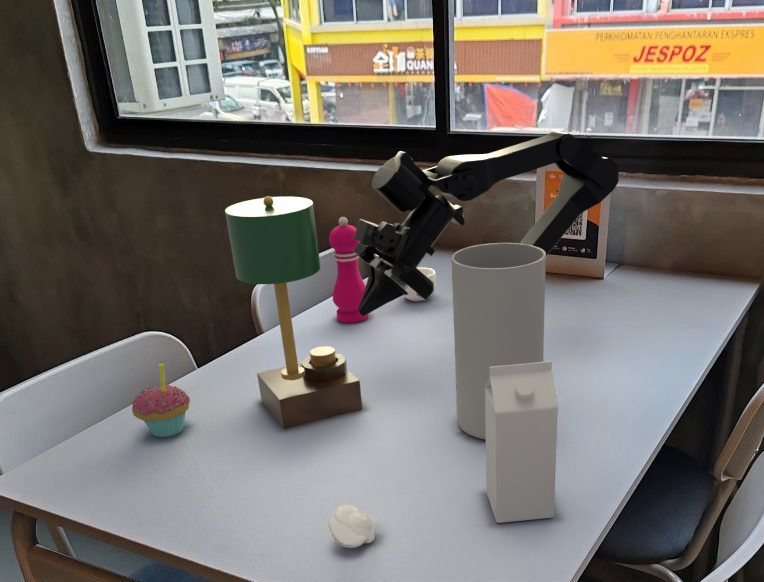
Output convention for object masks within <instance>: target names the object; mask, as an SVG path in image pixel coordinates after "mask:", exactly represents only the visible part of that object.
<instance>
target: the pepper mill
mask: <svg viewBox="0 0 764 582" xmlns="http://www.w3.org/2000/svg"><path fill="white" fill-rule="evenodd" d="M348 223H349V220H348V218H347V217H345V216H341V217H339V219H338V225H337V226H335V227H334V228H333V229H332V230H331V231H330V234H329V237H328V239H329V245H330V246H331V248H332V249H333V252H332V253H333V255H334V256H333V260H334V261H336V266H337V267H336V268H337V275H336V276H337V277H336V280H335V283H334V286H333V290H332V302H333V304H334V305H335V306H336V308H337V310H336V318H337V320H338V322H341V323H343V324H355V323H361V322H363V321H365V320H367V319H368V317H369V314H367V315H365V316H362V315H361V314H360V313H358V307H359V305H360V302H361V299H362V296H363V293H364V290H365V287H366V283H365V281H364V279H363V278H362V276H361V274H360V273H361V272H360V270H359V265H358V263H359V259H360V257H359V256H358V255H356V254H355V253H354V252H353V251H354V249H355V248H356V246H357V245H358V244H359V242H360V241H358V240H354V236H355V232H356V229H357V227H356V226H354V225H350V224H348Z"/></svg>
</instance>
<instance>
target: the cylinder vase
mask: <svg viewBox="0 0 764 582" xmlns="http://www.w3.org/2000/svg"><path fill="white" fill-rule="evenodd" d="M546 262H547V256H546V253H545V251H544V250H542V249H541V248H539V247H536V246H532V245H527V244H520V242H492V243H482V244H475V245H471V246H467V247H464V248H461V249H459V250H457V251H455V252H453V254H452V255H451V281H452V285H451V286H452V311H453V312H452V313H453V338H454V339H453V340H454V344H453V345H454V369H455V370H454V371H455V397H456V399H455V400H456V421H457V424H458V426H459V428H460V429H461V430H462V431H463V432H464V433H466V434H468V435H469V436H472V437H474V438H476V439H477V438H478V439H481V440H485V441H486V421H485V386H486V383H487V381H488V378H489V376H490V367H493V366H504V365H515V364H526V363H536V362H544V349H545V348H544V347H545V346H544V342H545V341H544V340H545V307H546V306H545V305H546V304H545V303H546V302H545V301H546Z"/></svg>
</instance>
